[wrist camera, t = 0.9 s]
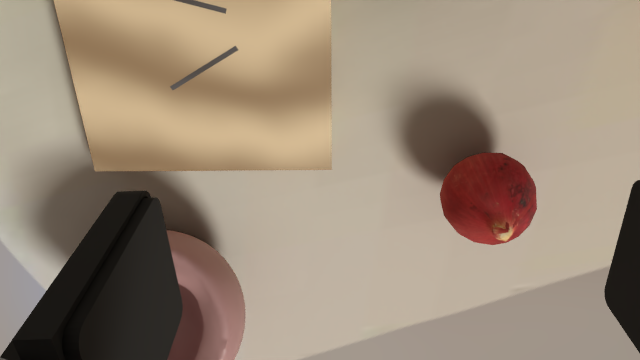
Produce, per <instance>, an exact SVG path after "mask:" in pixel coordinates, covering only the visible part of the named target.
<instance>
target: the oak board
mask: <svg viewBox="0 0 640 360" xmlns="http://www.w3.org/2000/svg"><path fill="white" fill-rule="evenodd" d="M54 4H55V8H56V12H57V16H58V21H59V25H60V29H61V33H62V37H63V41H64V45H65V50H66V54H67V58H68V62H69V66H70V70H71V74H72V79H73V83H74V87H75V91H76V95H77V99H78V103H79V108H80V112H81V116H82V120H83V124H84V128H85V132H86V136H87V141H88V145H89V149H90V153H91V157H92V161H93V165H94V170H95V171H216V170H332V160H331V0H54Z"/></svg>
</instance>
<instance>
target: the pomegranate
mask: <svg viewBox="0 0 640 360" xmlns="http://www.w3.org/2000/svg"><path fill="white" fill-rule="evenodd" d="M440 198H441V204H442V208H443V213H444V216H445V217H446V219H447V220H448V221H449V223H450V224H451V225H452V226H453V228H454V229H455V230H456V231H457V232H458V233H459V234H460V235H462V236H464V237H466V238H468V239H469V240H471V241H473V242H477V243H483V244H490V245H495V244H501V243H506V242H509V241H510V240H512V239H514V238H516V237H518V236H519V235H520V234H521V233H522V232H523V231H524V230H525V229H526V228H527V227H528V226H529V225H530V223H531V221H532V219H533V216H534V214H535V212H536V209H537V204H536V186H535V184H534V181H533V179H532V178H531V176H530V175H529V173H528V172H527V170H526V168H525V167H524V166H523V165H522V164H521V163H520V162H518V161H516V160H515V159H513V158H511V157H509V156H507V155H505V154H503V153H486V152H484V153H481V154H477V155H473V156H469V157H467V158H465V159H464V160H462V161H460V162H459V163H457V164H456V165H454V166H453V168H452V169H451V171H450V172H449V173H448V175H447V176H446V177H445V179H444V181H443V185H442V188H441V192H440Z"/></svg>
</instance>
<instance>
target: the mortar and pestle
mask: <svg viewBox="0 0 640 360" xmlns="http://www.w3.org/2000/svg"><path fill="white" fill-rule="evenodd" d="M166 231H167V235H168V240H169V244H170V249H171V253H172V258H173V262H174V267H175V271H176V275H177V280H178V284H179V289H180V293H181V298H182V304H183V310H182V317H181V321H180V324H179V327H178V330H177V333H176V335H175V338H174V341H173V344H172V347H171V350H170V353H169V356H168V359H167V360H234V359H235V357H236V355H237V353H238V350H239V347H240V344H241V342H242V338H243V333H244V328H245V303H244V297H243V293H242V290H241V286H240V284H239V281H238V279H237V277H236V275H235V273H234V272H233V270H232V268H231V267H230V265H229V264H228V263H227V261H226V260H225V259H224V258H223V257H222V256H221V255H220V254H219V253H218V252H217V251H216V250H215V249H214V248H212V247H211V246H209V245H208V244H207V243H205V242H203V241H201V240H199V239H197V238H195V237H193V236H190V235H187V234H184V233H181V232H176V231H169V230H166Z"/></svg>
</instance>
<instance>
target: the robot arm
mask: <svg viewBox="0 0 640 360" xmlns="http://www.w3.org/2000/svg"><path fill="white" fill-rule="evenodd" d="M605 300H606V303H607V305H608V307H609V309H610V310H611V312H612V313H613V315H614V316H615V317H616V319H617V320H618V322H619V323H620V325H621V326H622V328H623V329H624V331H625V332H626V333H627V335H628V337H629V338H630V339H631V341H632V342H633V344H634V345H635V347H636V348H637V350H638V351H639V353H640V180H638V181H636V182H635V183H634V184H633V187H632V189H631V193H630V197H629V200H628V204H627V208H626V212H625V215H624V219H623V223H622V226H621V230H620V234H619V238H618V241H617V245H616V249H615V252H614V256H613V260H612V263H611V267H610V271H609V275H608V278H607V282H606V286H605ZM182 310H183V304H182V298H181V293H180V289H179V284H178V280H177V275H176V271H175V267H174V262H173V258H172V253H171V249H170V244H169V240H168V235H167V231H166V226H165V222H164V218H163V213H162V209H161V204H160V201H159V200H158V198H151V196H150V194H149V193H148V192H147V191H127V192H117V193H116V194H115V195H114V196H113V197H112V199H111V200H110V202H109V203H108V205H107V206H106V207H105V209H104V210H103V212H102V213H101V214H100V216H99V217H98V219H97V220H96V222H95V223H94V224H93V226H92V227H91V229H90V230H89V232H88V233H87V234H86V236H85V237H84V239H83V240H82V241H81V243H80V244H79V246H78V247H77V249H76V250H75V251H74V253H73V254H72V256H71V257H70V258H69V260H68V261H67V263H66V264H65V266H64V267H63V268H62V270H61V271H60V273H59V274H58V276H57V277H56V278H55V280H54V281H53V283H52V284H51V285H50V287H49V288H48V290H47V291H46V293H45V294H44V295H43V297H42V298H41V300H40V301H39V302H38V304H37V305H36V307H35V308H34V310H33V311H32V312H31V314H30V315H29V317H28V318H27V319H26V321H25V322H24V324H23V325H22V327H21V328H20V329H19V331H18V332H17V334H16V335H15V337H14V338H13V339H12V341H11V343H10V344H9V345H8V347H7V348H6V350H5V351H4V352H3V354H2V355H1V357H0V360H167V359H168V356H169V353H170V350H171V347H172V344H173V341H174V338H175V335H176V333H177V330H178V327H179V324H180V321H181V317H182Z"/></svg>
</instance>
